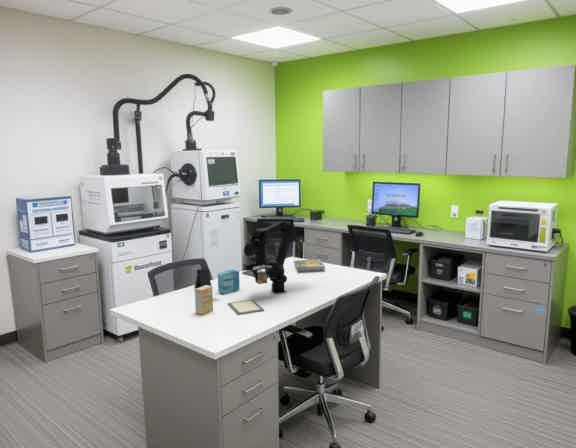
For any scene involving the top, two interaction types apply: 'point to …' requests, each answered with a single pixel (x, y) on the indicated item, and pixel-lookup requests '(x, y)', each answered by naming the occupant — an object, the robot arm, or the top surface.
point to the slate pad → (245, 307)
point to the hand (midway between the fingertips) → (261, 280)
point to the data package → (228, 281)
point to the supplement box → (203, 299)
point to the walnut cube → (261, 278)
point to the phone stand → (202, 278)
